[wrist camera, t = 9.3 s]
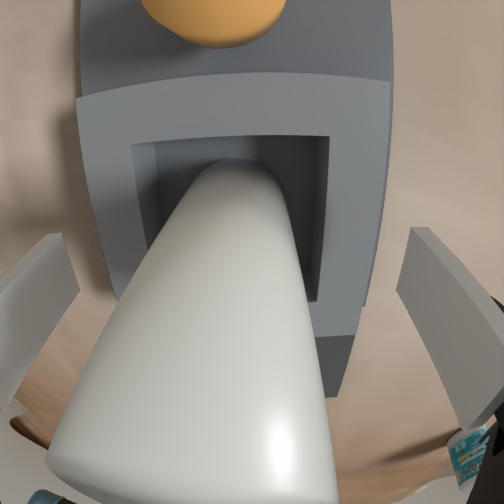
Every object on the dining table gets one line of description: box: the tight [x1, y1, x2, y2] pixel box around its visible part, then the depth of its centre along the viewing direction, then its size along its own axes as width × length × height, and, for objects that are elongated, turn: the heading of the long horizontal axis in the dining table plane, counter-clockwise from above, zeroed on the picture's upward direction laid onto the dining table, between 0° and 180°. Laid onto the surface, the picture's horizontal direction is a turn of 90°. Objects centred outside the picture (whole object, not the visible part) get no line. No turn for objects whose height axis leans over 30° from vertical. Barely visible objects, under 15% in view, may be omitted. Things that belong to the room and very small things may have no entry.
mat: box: [314, 335, 355, 398], centre depth 23 cm, size 12×10×1 cm
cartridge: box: [45, 158, 340, 504], centre depth 10 cm, size 5×5×14 cm
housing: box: [75, 0, 393, 337], centre depth 13 cm, size 16×22×4 cm
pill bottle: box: [447, 424, 489, 493], centre depth 28 cm, size 8×7×14 cm
